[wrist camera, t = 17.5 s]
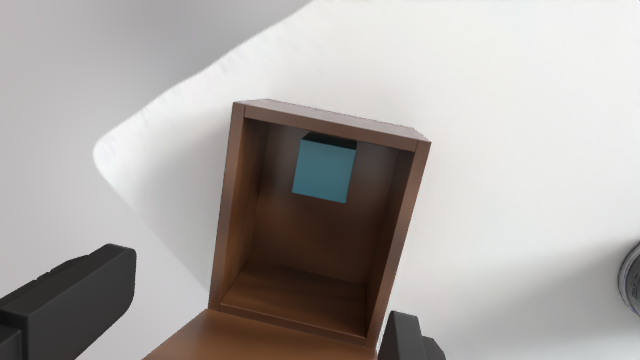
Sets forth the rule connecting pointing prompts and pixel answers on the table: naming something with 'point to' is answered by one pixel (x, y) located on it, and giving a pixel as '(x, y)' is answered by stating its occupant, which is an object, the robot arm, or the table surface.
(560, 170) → the table surface
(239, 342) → the lid
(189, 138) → the table surface
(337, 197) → the block
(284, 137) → the chest
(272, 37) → the table surface
